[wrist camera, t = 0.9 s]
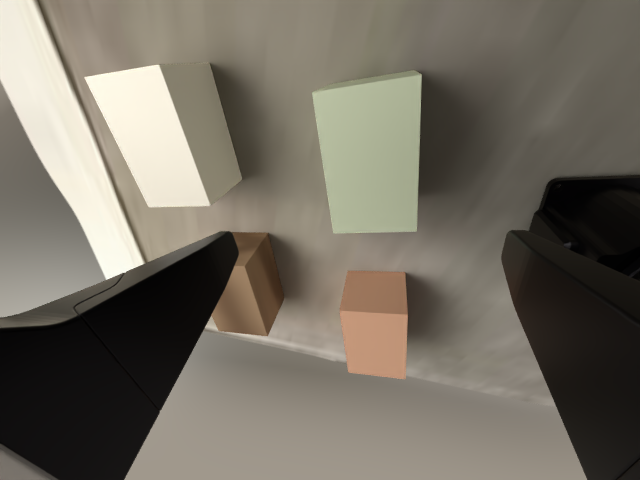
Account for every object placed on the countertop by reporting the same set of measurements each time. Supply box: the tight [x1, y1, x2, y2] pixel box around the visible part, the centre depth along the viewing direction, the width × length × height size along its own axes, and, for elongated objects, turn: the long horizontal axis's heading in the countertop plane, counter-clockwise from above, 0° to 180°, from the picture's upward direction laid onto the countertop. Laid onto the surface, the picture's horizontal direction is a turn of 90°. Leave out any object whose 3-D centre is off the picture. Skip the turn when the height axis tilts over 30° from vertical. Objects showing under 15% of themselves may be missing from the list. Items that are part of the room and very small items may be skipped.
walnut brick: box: [212, 232, 284, 336], centre depth 26 cm, size 5×8×5 cm, turn 6°
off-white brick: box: [85, 63, 242, 207], centre depth 19 cm, size 5×8×5 cm, turn 7°
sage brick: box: [312, 70, 422, 233], centre depth 17 cm, size 5×8×5 cm, turn 8°
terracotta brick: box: [340, 271, 408, 379], centre depth 25 cm, size 5×8×5 cm, turn 8°
